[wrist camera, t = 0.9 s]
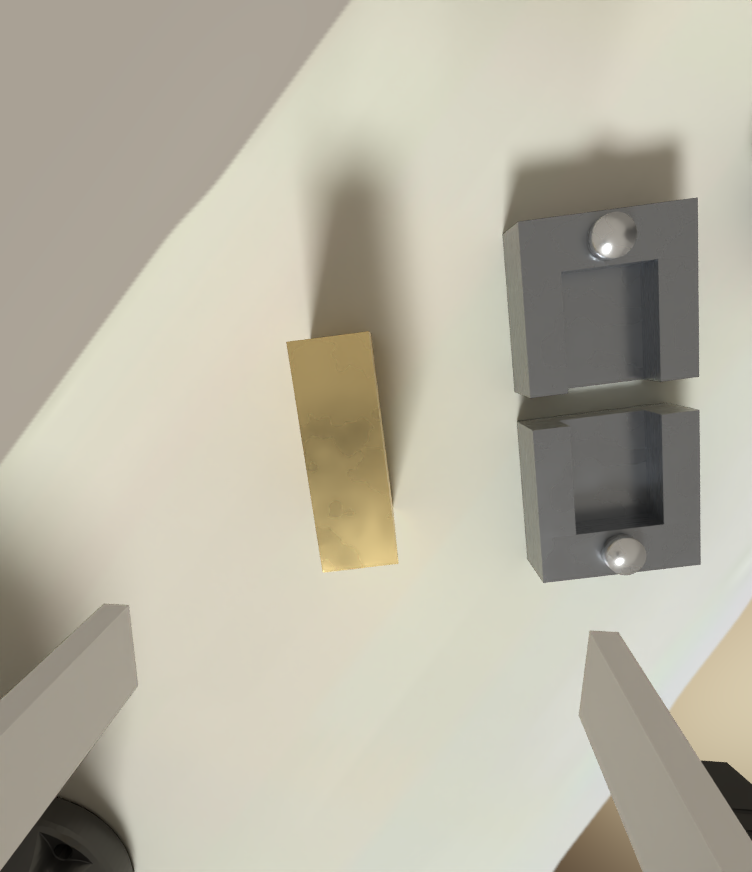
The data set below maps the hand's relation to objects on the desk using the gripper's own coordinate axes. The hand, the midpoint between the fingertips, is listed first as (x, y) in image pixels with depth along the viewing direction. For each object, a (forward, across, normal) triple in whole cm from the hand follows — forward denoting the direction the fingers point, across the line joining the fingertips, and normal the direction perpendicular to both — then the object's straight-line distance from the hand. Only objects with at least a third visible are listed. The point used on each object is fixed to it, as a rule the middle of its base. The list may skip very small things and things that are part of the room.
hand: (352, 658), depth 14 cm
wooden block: (+21, +2, -2) cm, 21 cm away
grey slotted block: (+22, -13, -4) cm, 26 cm away
